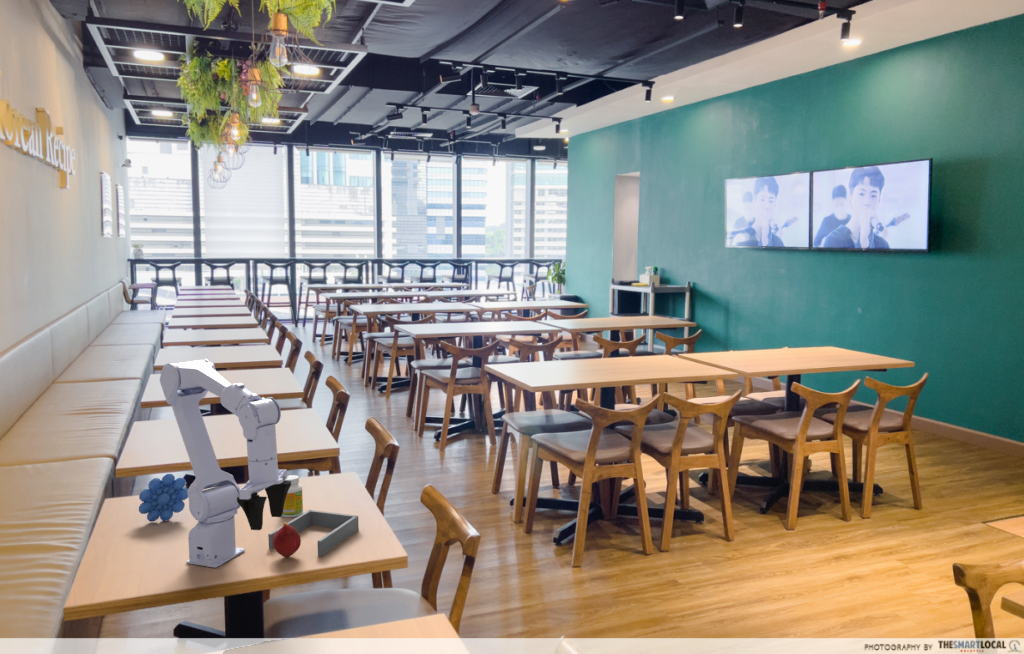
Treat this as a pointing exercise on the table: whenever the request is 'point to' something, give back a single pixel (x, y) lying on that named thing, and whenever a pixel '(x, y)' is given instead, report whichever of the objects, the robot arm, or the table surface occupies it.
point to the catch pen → (326, 519)
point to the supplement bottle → (293, 498)
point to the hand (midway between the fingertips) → (266, 522)
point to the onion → (286, 540)
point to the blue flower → (163, 498)
